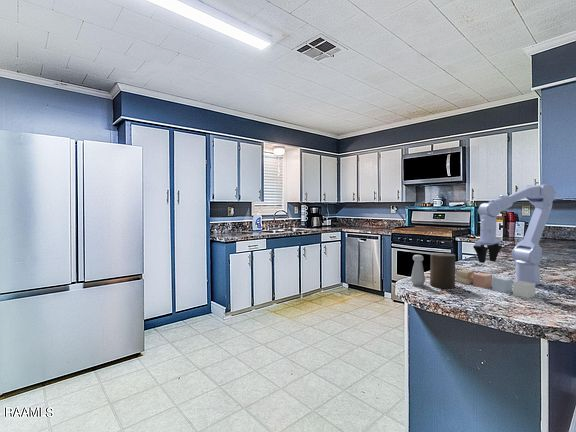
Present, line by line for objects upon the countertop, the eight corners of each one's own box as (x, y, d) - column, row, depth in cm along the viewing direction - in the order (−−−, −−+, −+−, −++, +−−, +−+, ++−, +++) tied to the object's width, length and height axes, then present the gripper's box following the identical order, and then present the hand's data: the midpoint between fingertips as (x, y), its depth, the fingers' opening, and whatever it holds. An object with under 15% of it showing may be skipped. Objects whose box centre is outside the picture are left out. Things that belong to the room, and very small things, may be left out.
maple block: (463, 280, 146) (463, 269, 146) (473, 282, 142) (473, 271, 141) (456, 281, 144) (456, 270, 144) (466, 284, 139) (466, 272, 139)
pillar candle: (449, 290, 129) (450, 253, 129) (425, 285, 136) (426, 250, 136) (458, 286, 135) (459, 251, 135) (435, 282, 143) (436, 249, 142)
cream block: (520, 293, 125) (520, 280, 124) (535, 296, 120) (535, 283, 120) (513, 294, 122) (513, 282, 122) (527, 298, 118) (528, 285, 118)
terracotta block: (480, 284, 139) (480, 272, 139) (491, 286, 134) (492, 275, 134) (473, 285, 137) (473, 274, 136) (484, 288, 132) (484, 276, 132)
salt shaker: (426, 286, 134) (426, 256, 134) (412, 286, 135) (412, 256, 135) (423, 283, 140) (423, 254, 140) (409, 282, 141) (409, 253, 141)
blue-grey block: (499, 288, 132) (499, 276, 132) (512, 291, 127) (512, 279, 127) (492, 289, 129) (492, 277, 129) (504, 293, 125) (505, 280, 125)
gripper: (489, 229, 143) (488, 259, 143) (468, 230, 137) (467, 261, 137) (505, 230, 137) (504, 261, 137) (484, 231, 130) (483, 264, 131)
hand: (487, 261), depth 137 cm, fingers open, 7 cm apart
